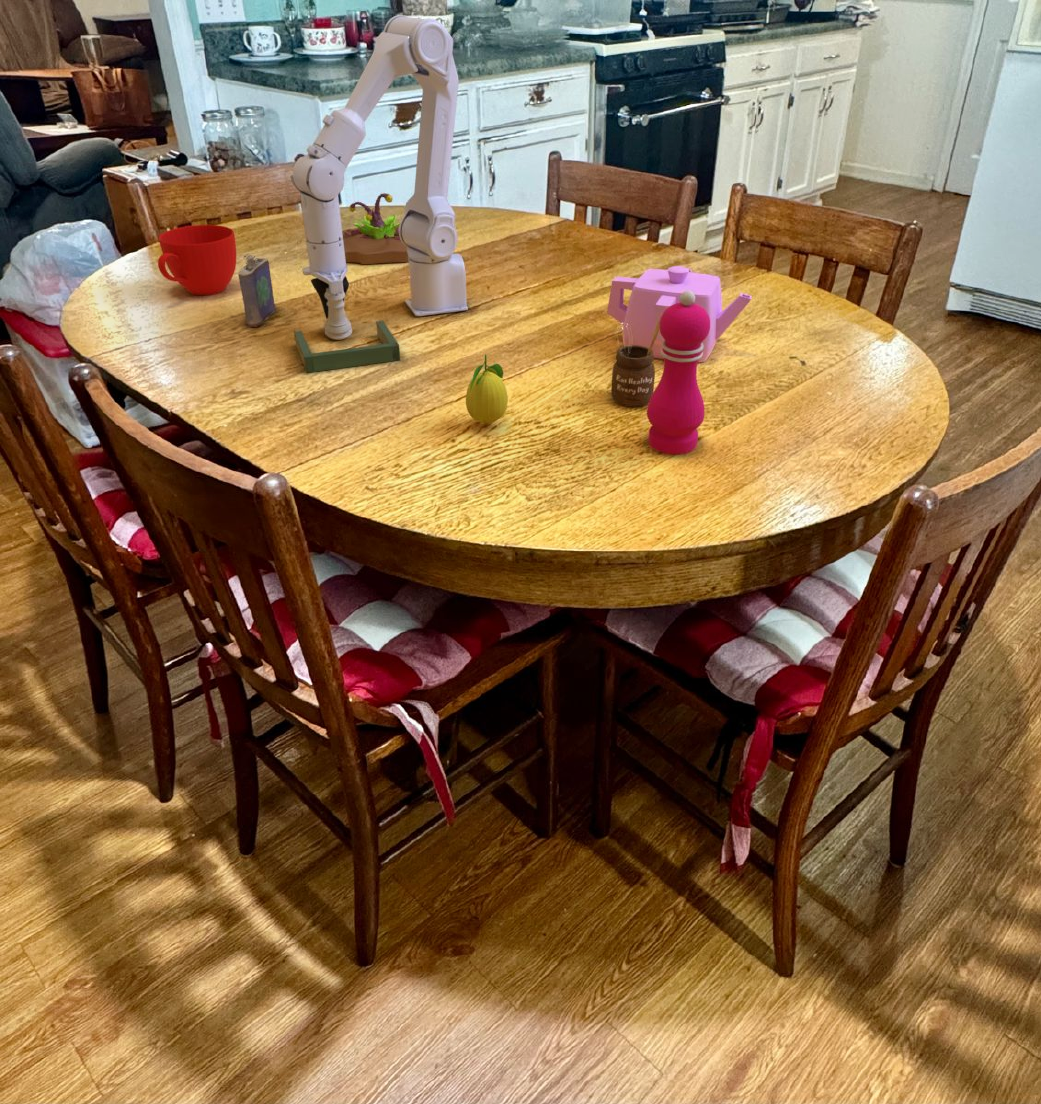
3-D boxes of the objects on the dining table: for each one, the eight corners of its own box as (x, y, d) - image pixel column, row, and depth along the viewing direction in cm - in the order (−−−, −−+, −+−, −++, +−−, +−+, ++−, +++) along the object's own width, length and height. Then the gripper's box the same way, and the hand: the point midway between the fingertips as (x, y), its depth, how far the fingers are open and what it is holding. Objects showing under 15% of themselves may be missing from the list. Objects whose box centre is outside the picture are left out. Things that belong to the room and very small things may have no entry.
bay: (384, 334, 148) (383, 320, 146) (400, 360, 139) (399, 344, 138) (296, 346, 144) (293, 331, 142) (306, 373, 135) (304, 357, 134)
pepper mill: (639, 431, 119) (651, 281, 108) (693, 429, 119) (710, 280, 108) (650, 458, 113) (664, 302, 102) (706, 455, 114) (727, 300, 102)
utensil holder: (609, 389, 130) (614, 308, 123) (653, 390, 130) (660, 309, 123) (611, 407, 125) (616, 324, 118) (656, 407, 125) (664, 324, 118)
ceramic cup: (140, 303, 160) (126, 246, 155) (201, 275, 173) (190, 221, 168) (199, 312, 156) (187, 254, 151) (257, 283, 169) (248, 228, 164)
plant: (423, 264, 178) (419, 206, 172) (325, 264, 179) (317, 206, 172) (432, 236, 195) (429, 182, 188) (343, 236, 195) (336, 182, 189)
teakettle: (598, 336, 147) (602, 260, 140) (685, 320, 153) (693, 246, 146) (655, 374, 134) (663, 293, 127) (747, 355, 140) (759, 276, 133)
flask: (258, 327, 150) (247, 263, 144) (242, 327, 151) (230, 262, 145) (279, 309, 158) (268, 247, 152) (263, 308, 158) (252, 246, 152)
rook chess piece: (357, 329, 148) (353, 285, 142) (345, 343, 145) (341, 299, 139) (332, 323, 149) (327, 279, 143) (320, 337, 146) (314, 293, 140)
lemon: (471, 439, 117) (469, 367, 112) (456, 421, 122) (453, 351, 116) (518, 430, 119) (518, 359, 114) (501, 412, 124) (500, 343, 118)
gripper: (292, 229, 145) (303, 311, 153) (305, 254, 134) (317, 341, 142) (335, 225, 147) (345, 306, 155) (352, 249, 136) (361, 335, 143)
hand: (334, 322), depth 148 cm, fingers closed
